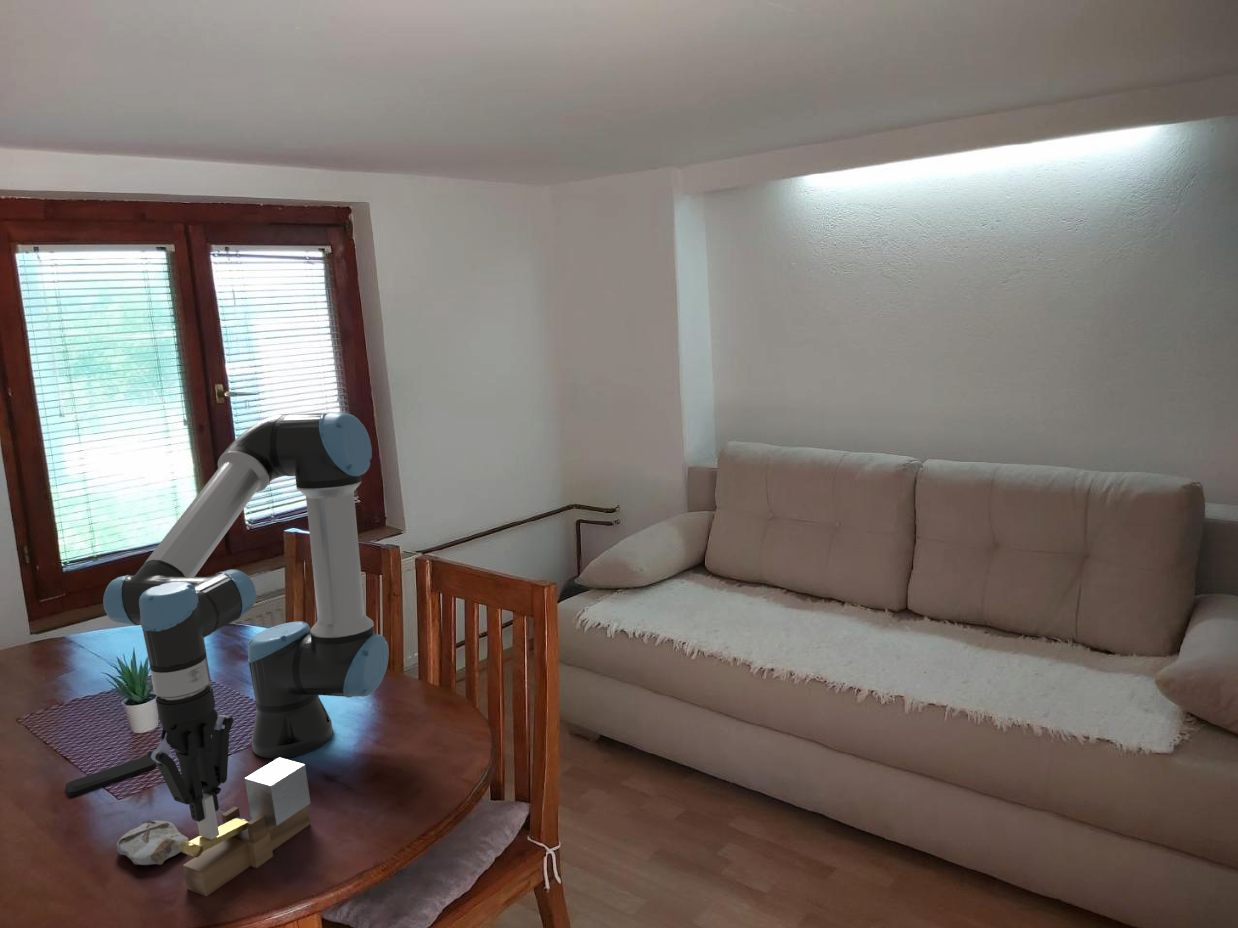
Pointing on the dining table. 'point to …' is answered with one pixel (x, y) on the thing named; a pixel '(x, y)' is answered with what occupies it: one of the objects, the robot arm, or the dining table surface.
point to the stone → (151, 842)
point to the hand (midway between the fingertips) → (209, 834)
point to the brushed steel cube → (277, 790)
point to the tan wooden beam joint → (240, 851)
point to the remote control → (109, 776)
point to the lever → (225, 832)
